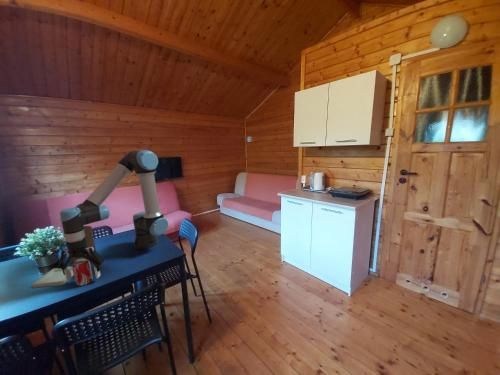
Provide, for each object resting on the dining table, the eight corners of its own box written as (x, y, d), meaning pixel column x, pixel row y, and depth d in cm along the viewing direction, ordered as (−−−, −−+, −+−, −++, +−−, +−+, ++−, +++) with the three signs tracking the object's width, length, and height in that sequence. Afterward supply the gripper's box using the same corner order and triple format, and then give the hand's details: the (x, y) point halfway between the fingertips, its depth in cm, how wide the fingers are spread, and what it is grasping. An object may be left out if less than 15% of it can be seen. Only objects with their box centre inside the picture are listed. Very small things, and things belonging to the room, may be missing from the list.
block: (82, 263, 128) (76, 232, 124) (69, 262, 130) (62, 231, 126) (97, 255, 138) (92, 225, 134) (84, 254, 140) (78, 224, 136)
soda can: (90, 285, 107) (85, 263, 105) (73, 288, 105) (68, 266, 103) (95, 277, 114) (91, 256, 111) (80, 279, 112) (75, 258, 109)
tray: (81, 269, 122) (80, 265, 121) (63, 284, 108) (62, 281, 108) (54, 271, 120) (53, 268, 120) (32, 288, 107) (31, 284, 106)
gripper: (107, 234, 110) (113, 271, 114) (53, 238, 107) (62, 276, 111) (98, 240, 103) (106, 280, 107) (41, 245, 100) (51, 285, 104)
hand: (84, 278), depth 109 cm, fingers open, 13 cm apart
